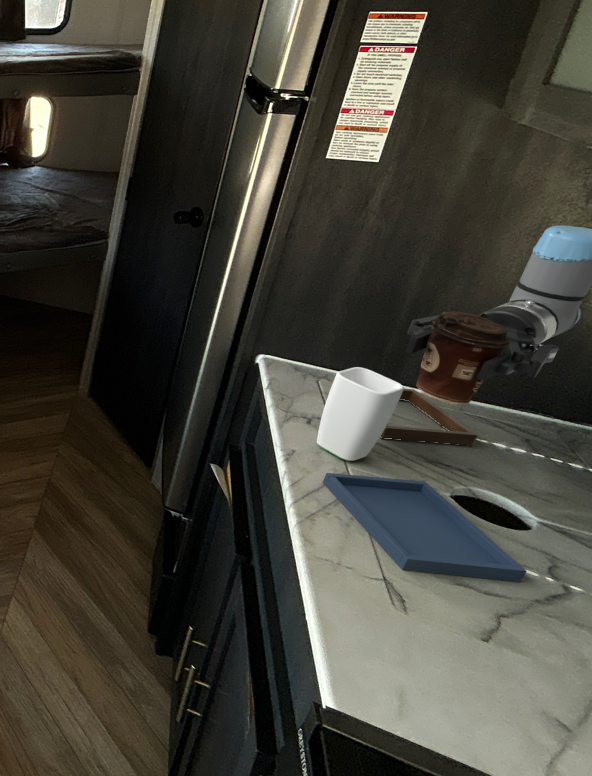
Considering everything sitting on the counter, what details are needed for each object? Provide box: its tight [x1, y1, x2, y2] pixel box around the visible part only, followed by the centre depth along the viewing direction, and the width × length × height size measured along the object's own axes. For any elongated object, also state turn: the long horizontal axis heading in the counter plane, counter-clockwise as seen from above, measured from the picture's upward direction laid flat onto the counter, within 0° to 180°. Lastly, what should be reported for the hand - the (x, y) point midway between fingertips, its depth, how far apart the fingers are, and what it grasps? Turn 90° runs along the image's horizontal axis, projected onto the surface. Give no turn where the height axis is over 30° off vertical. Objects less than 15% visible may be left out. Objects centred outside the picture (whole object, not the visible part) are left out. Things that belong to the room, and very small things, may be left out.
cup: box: [316, 366, 405, 462], centre depth 109 cm, size 7×7×15 cm
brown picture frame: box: [379, 388, 478, 447], centre depth 120 cm, size 15×15×2 cm
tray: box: [322, 472, 527, 583], centre depth 95 cm, size 18×15×2 cm
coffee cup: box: [416, 310, 510, 406], centre depth 98 cm, size 9×8×13 cm
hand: (446, 358), depth 95 cm, fingers closed on coffee cup, 8 cm apart
